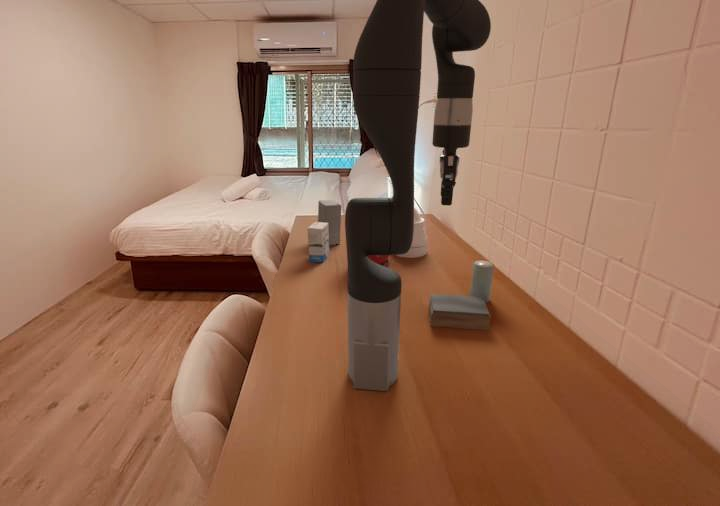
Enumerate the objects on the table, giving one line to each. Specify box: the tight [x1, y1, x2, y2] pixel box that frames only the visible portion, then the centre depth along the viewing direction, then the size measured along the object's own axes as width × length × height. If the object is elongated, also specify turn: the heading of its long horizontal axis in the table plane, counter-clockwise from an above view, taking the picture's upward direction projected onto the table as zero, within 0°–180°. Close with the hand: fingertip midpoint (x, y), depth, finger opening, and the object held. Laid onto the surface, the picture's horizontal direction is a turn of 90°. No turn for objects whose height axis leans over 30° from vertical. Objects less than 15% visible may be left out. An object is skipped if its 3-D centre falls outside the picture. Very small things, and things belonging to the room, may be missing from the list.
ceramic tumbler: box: [469, 260, 495, 304], centre depth 96 cm, size 5×5×10 cm
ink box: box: [307, 221, 330, 264], centre depth 124 cm, size 9×5×12 cm, turn 168°
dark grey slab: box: [428, 293, 492, 331], centre depth 88 cm, size 9×13×4 cm
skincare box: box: [317, 199, 342, 247], centre depth 139 cm, size 8×7×16 cm
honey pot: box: [395, 206, 428, 259], centre depth 130 cm, size 13×13×18 cm
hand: (445, 200), depth 82 cm, fingers open, 8 cm apart
